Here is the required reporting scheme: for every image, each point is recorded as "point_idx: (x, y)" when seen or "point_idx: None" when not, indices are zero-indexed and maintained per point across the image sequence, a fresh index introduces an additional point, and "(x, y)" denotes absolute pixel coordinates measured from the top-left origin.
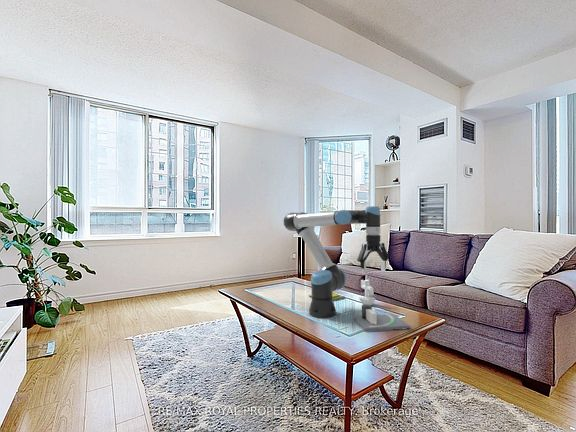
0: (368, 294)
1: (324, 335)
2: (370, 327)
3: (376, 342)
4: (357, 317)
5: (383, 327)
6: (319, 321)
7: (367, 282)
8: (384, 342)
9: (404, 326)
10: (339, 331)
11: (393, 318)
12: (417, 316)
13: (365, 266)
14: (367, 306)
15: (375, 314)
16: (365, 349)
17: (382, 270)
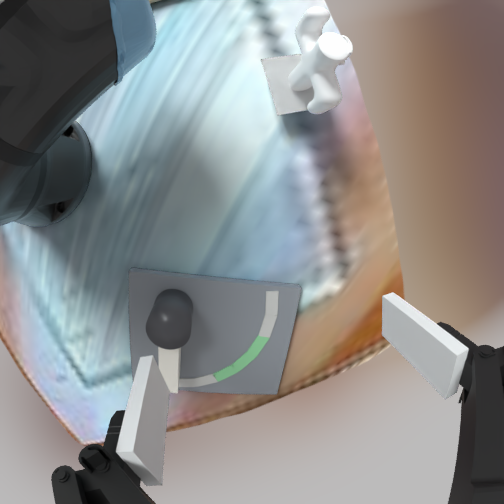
0: (307, 85)
1: (31, 360)
2: None
3: None
4: (140, 290)
5: (191, 390)
6: (21, 255)
7: (329, 63)
8: None
9: (258, 393)
10: (66, 353)
11: (267, 338)
12: (373, 299)
13: (159, 451)
14: (167, 340)
15: (174, 391)
16: None
17: (391, 322)
